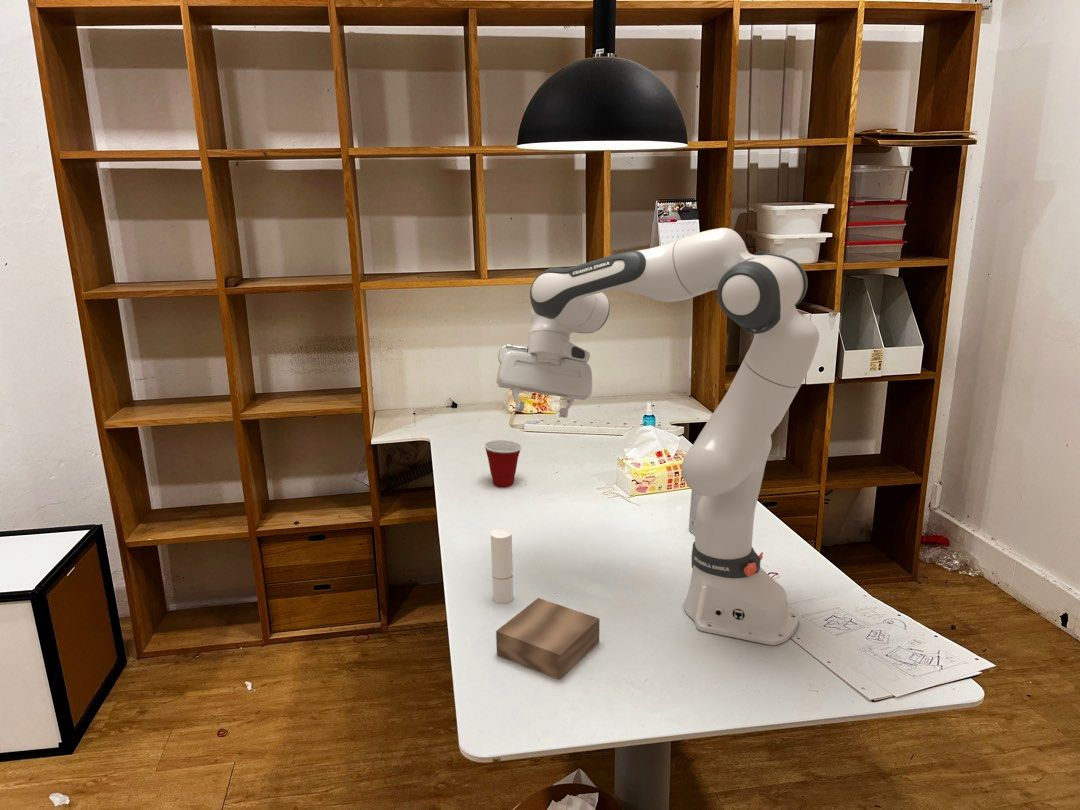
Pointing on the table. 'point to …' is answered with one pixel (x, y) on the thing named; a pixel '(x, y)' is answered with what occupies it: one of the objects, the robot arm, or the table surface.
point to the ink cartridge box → (693, 511)
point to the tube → (502, 565)
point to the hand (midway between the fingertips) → (541, 413)
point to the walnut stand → (548, 637)
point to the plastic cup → (502, 461)
